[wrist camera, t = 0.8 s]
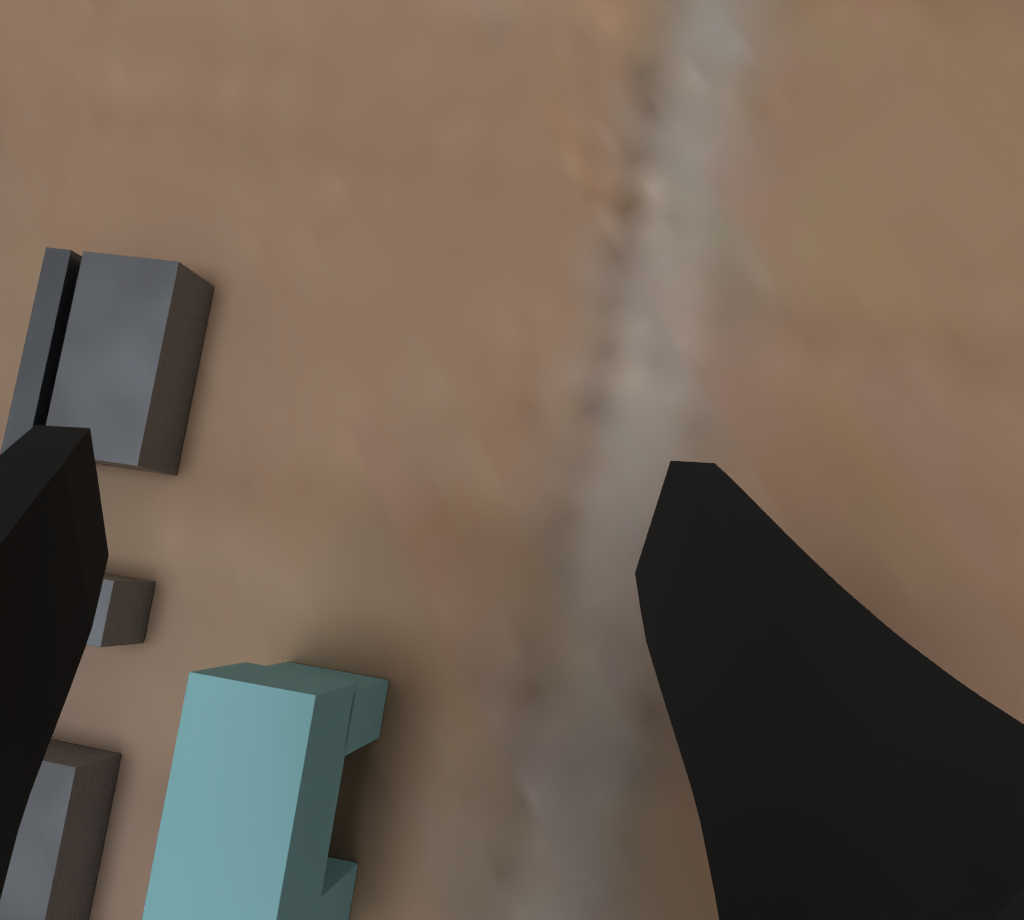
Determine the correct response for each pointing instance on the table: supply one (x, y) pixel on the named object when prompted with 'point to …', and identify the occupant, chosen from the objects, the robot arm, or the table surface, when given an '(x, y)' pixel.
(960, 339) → the table surface
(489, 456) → the table surface
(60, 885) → the rail
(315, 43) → the table surface
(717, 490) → the robot arm
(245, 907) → the clip
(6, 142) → the table surface
